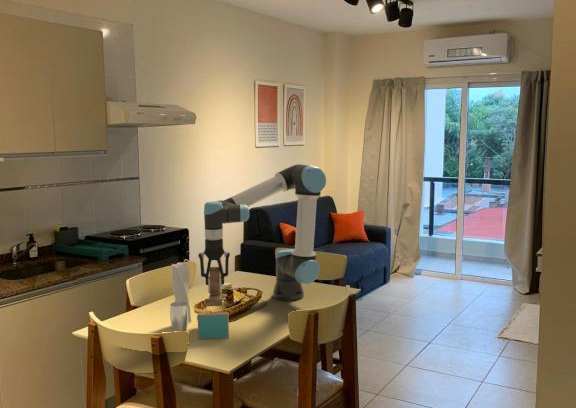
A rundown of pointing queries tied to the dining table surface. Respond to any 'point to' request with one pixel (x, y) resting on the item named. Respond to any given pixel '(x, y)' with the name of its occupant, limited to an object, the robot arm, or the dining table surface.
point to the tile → (213, 325)
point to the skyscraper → (181, 284)
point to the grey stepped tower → (214, 288)
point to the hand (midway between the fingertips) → (215, 291)
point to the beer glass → (179, 316)
